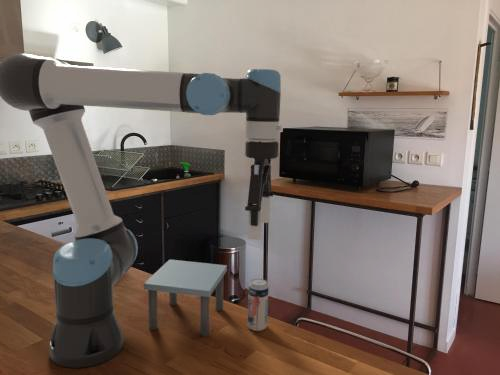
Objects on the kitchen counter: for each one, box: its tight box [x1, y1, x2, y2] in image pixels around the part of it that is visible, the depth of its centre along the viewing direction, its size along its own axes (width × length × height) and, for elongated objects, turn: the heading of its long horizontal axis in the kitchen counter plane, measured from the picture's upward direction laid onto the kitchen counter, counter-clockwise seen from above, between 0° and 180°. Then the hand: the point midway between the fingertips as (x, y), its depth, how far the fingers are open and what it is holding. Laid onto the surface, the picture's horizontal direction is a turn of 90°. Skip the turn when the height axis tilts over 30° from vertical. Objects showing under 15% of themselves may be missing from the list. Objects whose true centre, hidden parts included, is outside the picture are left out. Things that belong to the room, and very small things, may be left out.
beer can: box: [247, 278, 270, 332], centre depth 105 cm, size 5×5×12 cm
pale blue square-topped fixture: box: [143, 259, 228, 338], centre depth 108 cm, size 16×16×12 cm
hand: (259, 230), depth 101 cm, fingers open, 13 cm apart
